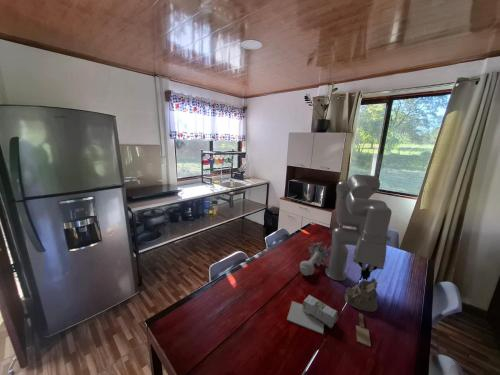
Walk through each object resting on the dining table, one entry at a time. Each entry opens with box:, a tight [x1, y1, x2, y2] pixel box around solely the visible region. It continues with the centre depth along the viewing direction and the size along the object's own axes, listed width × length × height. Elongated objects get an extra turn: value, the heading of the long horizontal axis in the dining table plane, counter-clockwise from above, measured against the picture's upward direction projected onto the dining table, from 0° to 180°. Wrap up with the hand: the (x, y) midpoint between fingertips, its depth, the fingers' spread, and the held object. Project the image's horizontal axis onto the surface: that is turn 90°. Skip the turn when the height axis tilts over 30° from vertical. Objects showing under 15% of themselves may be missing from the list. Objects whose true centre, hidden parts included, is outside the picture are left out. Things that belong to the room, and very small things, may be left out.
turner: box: [355, 312, 372, 348], centre depth 92 cm, size 16×5×1 cm, turn 156°
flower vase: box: [299, 241, 329, 277], centre depth 133 cm, size 13×18×25 cm
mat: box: [286, 300, 325, 335], centre depth 96 cm, size 12×16×1 cm
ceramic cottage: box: [344, 277, 379, 312], centre depth 108 cm, size 16×16×15 cm
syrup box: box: [302, 294, 338, 329], centre depth 96 cm, size 6×6×14 cm
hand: (364, 277), depth 82 cm, fingers closed
